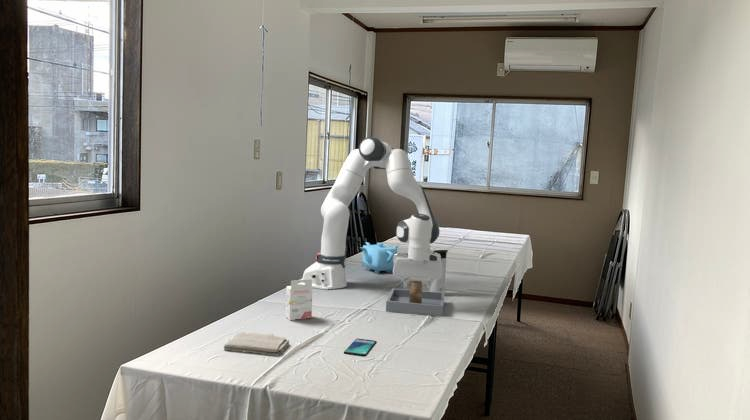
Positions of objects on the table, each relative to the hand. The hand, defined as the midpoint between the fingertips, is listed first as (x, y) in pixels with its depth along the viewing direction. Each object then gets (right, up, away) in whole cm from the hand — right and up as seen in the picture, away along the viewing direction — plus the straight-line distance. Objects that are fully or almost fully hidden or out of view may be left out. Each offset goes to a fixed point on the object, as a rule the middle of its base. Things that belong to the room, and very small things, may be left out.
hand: (416, 288), depth 239 cm
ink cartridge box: (-45, -8, -24) cm, 51 cm away
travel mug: (+11, -6, +23) cm, 26 cm away
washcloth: (-54, -12, -56) cm, 78 cm away
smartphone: (-22, -13, -52) cm, 57 cm away
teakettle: (-16, 0, +67) cm, 69 cm away
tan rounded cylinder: (-1, -6, +1) cm, 7 cm away
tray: (0, -8, +1) cm, 8 cm away
